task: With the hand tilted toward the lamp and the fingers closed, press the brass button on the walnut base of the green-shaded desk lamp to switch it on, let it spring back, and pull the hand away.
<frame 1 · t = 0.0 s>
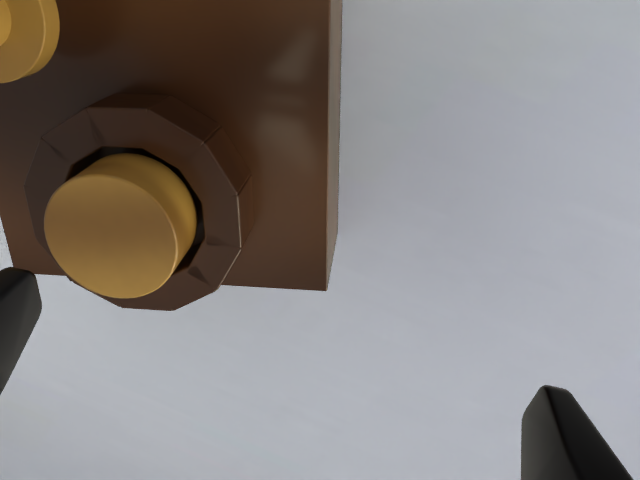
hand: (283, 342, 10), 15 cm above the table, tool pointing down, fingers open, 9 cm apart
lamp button: (124, 225, 17), point 8 cm above the table, slide at 0.1 cm
lamp base: (191, 79, 23), on the table
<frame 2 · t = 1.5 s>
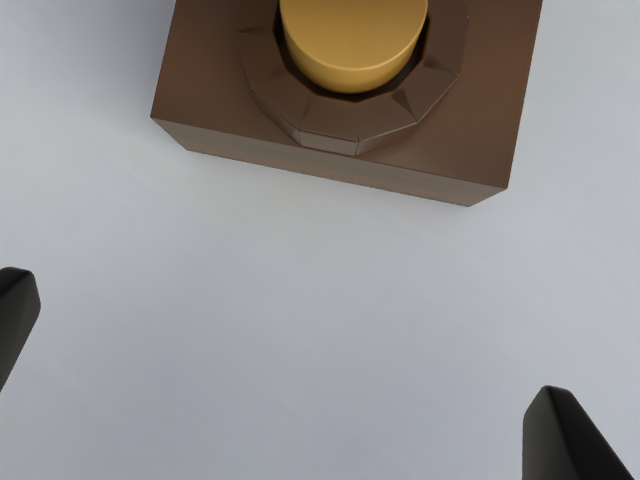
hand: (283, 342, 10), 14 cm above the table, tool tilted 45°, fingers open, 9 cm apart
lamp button: (352, 14, 16), point 8 cm above the table, slide at 0.1 cm
lamp base: (357, 28, 24), on the table
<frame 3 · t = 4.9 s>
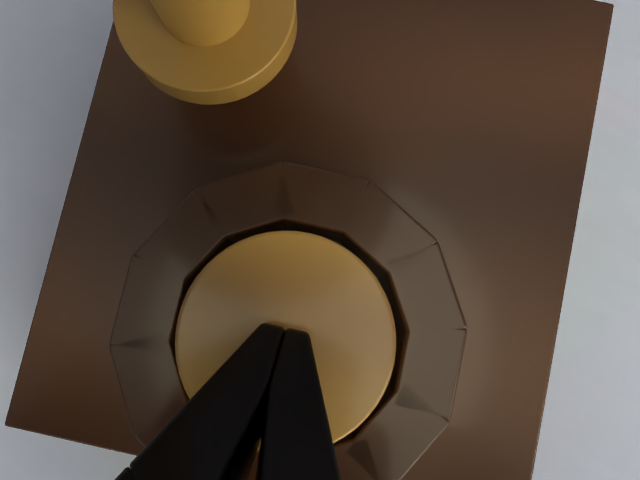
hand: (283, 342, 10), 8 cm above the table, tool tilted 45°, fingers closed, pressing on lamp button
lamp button: (288, 336, 11), point 7 cm above the table, slide at -0.5 cm, touching gripper
lamp base: (320, 231, 19), on the table
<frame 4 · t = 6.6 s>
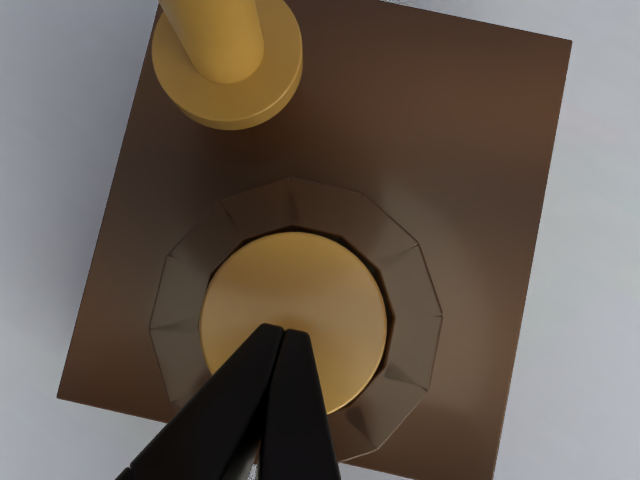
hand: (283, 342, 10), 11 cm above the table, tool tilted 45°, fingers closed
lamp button: (294, 323, 13), point 8 cm above the table, slide at 0.1 cm
lamp base: (322, 233, 21), on the table
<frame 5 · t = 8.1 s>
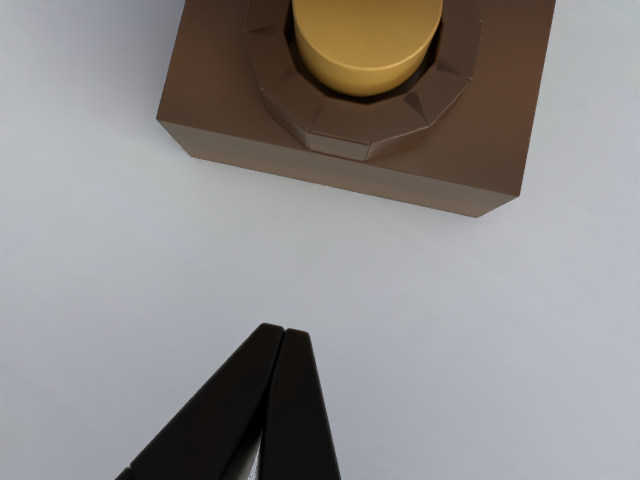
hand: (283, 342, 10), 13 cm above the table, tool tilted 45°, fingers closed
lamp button: (364, 16, 16), point 8 cm above the table, slide at 0.1 cm
lamp base: (365, 38, 24), on the table
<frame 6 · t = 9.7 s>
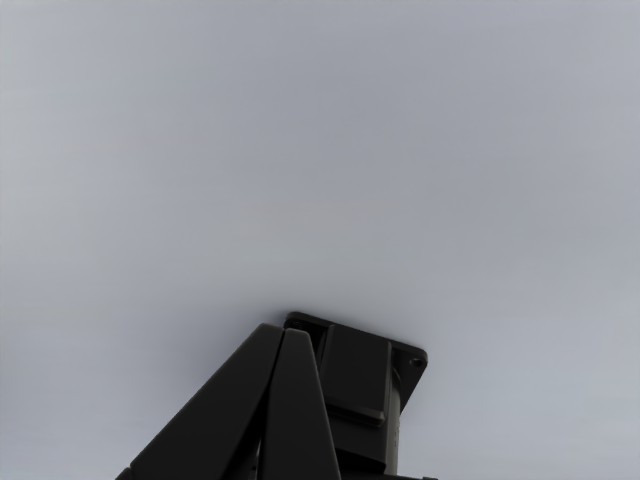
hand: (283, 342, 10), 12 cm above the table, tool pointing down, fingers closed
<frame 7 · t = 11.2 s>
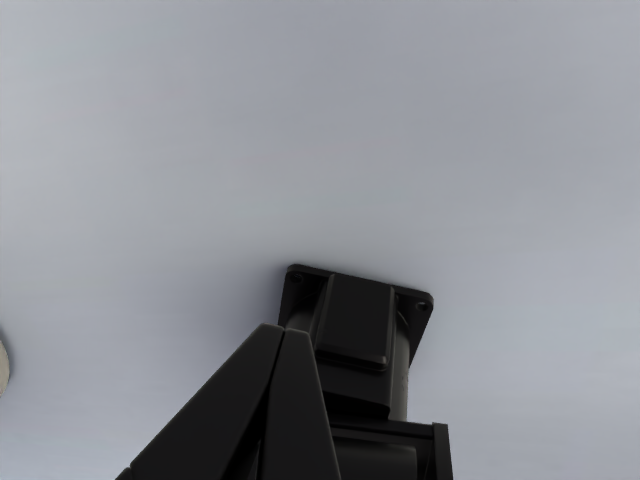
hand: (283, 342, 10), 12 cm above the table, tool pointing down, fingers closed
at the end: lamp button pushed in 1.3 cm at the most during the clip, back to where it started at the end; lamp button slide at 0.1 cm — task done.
